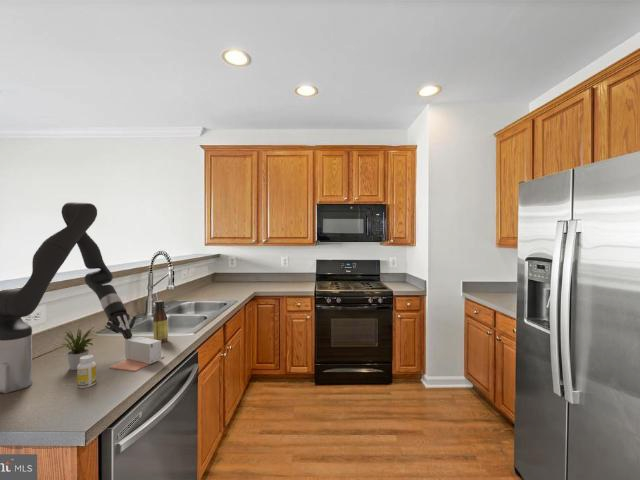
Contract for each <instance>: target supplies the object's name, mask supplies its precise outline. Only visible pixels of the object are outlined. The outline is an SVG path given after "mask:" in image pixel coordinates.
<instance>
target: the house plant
mask: <svg viewBox="0 0 640 480" xmlns="http://www.w3.org/2000/svg"><path fill="white" fill-rule="evenodd" d="M80 328H81V325H79V327H78V328H77V333H76V338H75V337H74V335H73V332H72V331H71V330H69V329H66V330H65V332H64V333H65V334H63V333H62V332H60V334H61V335H62V336H64V337H63V339H64V340H66V342H67V343H68V344H67V343H66V342H65V343H61V344H60V345H59V347H60V346H61V347H62V348H64V347H66V348H67V349H68V352H67V353H66V356H67V361H68V366H69V370H71V371H77V366H78V365H79V364H80V357H82V356H86V355H89V350H90V349H89V347H88V346H89V345H90V346H92V347H94V346H93V345H94V344H93V342H92V341H93V339H94V337H93V338H87V337H88V336H89V335H90V334H91V332H92V330H93V329H94V328H95V326H93V327H91V328H90V329H88V331H87V332H86V333H85V334H83V335H82V330H81V329H80ZM84 330H86V328H84ZM68 331H69V332H68ZM52 333H55V334H56V333H58V332H57V331H56V332H55V331H54V332H52ZM82 336H83V337H82Z"/></svg>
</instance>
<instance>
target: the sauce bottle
mask: <svg viewBox="0 0 640 480" xmlns="http://www.w3.org/2000/svg"><path fill="white" fill-rule="evenodd" d="M154 304H155V312H154V313H153V316H152V317H153V322H152V323H153V325H152V326H153V339H154V340H160V341H161V344H162V343H165V342H168V338H169V332H168V316H167V313H166V310H165V301H164V300H163V299H159V300H155V302H154Z"/></svg>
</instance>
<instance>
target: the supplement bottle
mask: <svg viewBox="0 0 640 480" xmlns="http://www.w3.org/2000/svg"><path fill="white" fill-rule="evenodd" d="M94 359H95V358H94V355H93V354H88V355H86V356H82V357H80V364H79V365H78V366H77V370H76V376H77V379H76V380H77V381H76V382H77V387H78V388H81V389H85V388H90V387H92V386H94V385H95V384H97V363H96V362H95V361H94Z"/></svg>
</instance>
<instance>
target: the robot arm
mask: <svg viewBox="0 0 640 480" xmlns="http://www.w3.org/2000/svg"><path fill="white" fill-rule="evenodd" d="M61 216H62V219H63V221H64V223H65V225H66V226H65V227H64V228H62V229H61V230H58V231H57V232H55V233H53V234H52V235H50V236H49V237H47V238H45V240H44V241H43V242H42V243H41V245H40V246H39V247H38V248H37V250H36V251H35V252H34V254H33V256H32V261H31V265H32V267H31V269H32V271H31V275H30V277H29V279H28V280H27V282H26V283H25V285H23V287H22V288H21V289H17V288H16V289H15V288H14V289H13V288H12V289H11V288H8V289H7V288H6V289H2V290H0V393H1V394H7V393H10V392H15V391H19V390H22V389H25V388H27V387H30V386H31V385H32V384H33V328H32V325H30V324H28V323H26V322H25V321H24V320H23V319H22V318H26V317H28V316H29V315H31V314H33V313H34V312H35V310H36V309H37V308H38V306H39V304H40V302H41V301H42V299H43V297H44V294H45V293H46V291H47V289H48V287H49V285H50V284H51V282H52V281H53V279H54V277H55V276H56V275H57V273H58V271H59V269H60V268H61V267H62V265H63V264H64V263H65V261H66V259H68V257H69V255H70V253H71V252H72V250H74V249H73V248H74V247H75V246H76V245H77V247H78V249H79V252H80V254H81V258H82V260H83V263H84V266H85V268H87V269H89V270H93V269H94V271H91V272H89V273H86V274H85V276H84V282H85V284H86V285H87V287H88V288H90V289H91V291H93V293H95V295H96V296H97V297H98V300H99V302H100V304H101V305H100V306H101V308H102V310H103V312H104V313H105V316H106V318H107V320H108V321H107V322H106V324H105V325H104V328H106V329H108V330H110V331H112V332H114V333H116V334H119V333H120V334H121V335H122V336H123V338H124V339H125V340H127V339H130V338H133V333H132V331H131V330H132V329H133V327H134V325H135V322H136V319H137V317H136V316H130V314H129V313H127V312H128V311H127V309H126V307H125V305H124V303H123V300H122V299H121V297H120V295H118V293H117V291H116V289H115V287H114V286H113V285H112V284H109V283H111V282H113V278H114V277H113V273H112V272H111V271H110V269H109V268H108V267H107V265H106V263H105V261H104V258H103V255H102V253H101V249H100V247H99V245H98V244H97V243H96V242H95V240H94V239H92V238H91V236H90V235H89V234H88V233H87V231H88V229H90V227H91V226H92V225H93V223H94V222H95V221H96V219H97V217H98V208H97V207H96V205H94V204H93V203H90V202H86V201H85V202H84V201H83V202H81V201H80V202H79V201H73V202H72V201H69V202H68V201H67V202H66V203H64V205H63V206H62V208H61ZM95 269H97V270H95Z"/></svg>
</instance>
